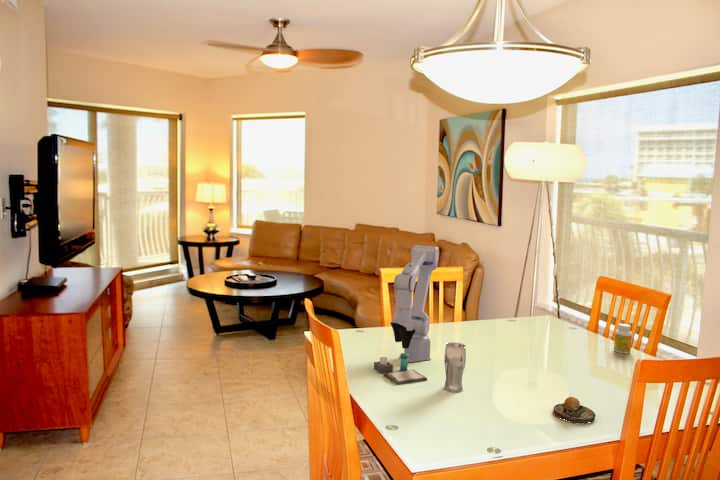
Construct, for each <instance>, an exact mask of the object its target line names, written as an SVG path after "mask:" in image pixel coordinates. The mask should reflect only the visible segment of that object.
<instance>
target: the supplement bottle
mask: <svg viewBox="0 0 720 480" xmlns="http://www.w3.org/2000/svg"><path fill="white" fill-rule="evenodd" d="M630 330H631V324H627V323H618V325H617V329H616V330H615V333H614V346H613V351H614V352H616V353H619V354H630V352H631V350H632V349H631V348H632V340H633V339H632V338H633V333H632V331H630Z"/></svg>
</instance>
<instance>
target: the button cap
mask: <svg viewBox="0 0 720 480" xmlns="http://www.w3.org/2000/svg"><path fill="white" fill-rule="evenodd" d="M388 359H389V358H388V357H387V356H381V357H379V361H380V365H381V366H382V365H387V363H388V362H389V361H388Z"/></svg>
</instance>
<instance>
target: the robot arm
mask: <svg viewBox="0 0 720 480" xmlns="http://www.w3.org/2000/svg"><path fill="white" fill-rule="evenodd" d="M410 252H411V255H410V256H411V261H410V262H408V263H406V265H404V267H403V269H402V271H401V273H399V274H396V275H395V277H394V282H393V288H394V295H395V310H394V311H395V313H394V315H393V319H392V320H391V322H390V325H391V328H392V331H393V336H394V342H395V343H401V348H402V349H404V352H403V353H406V354H408V362H409V363H414V362H422V361H430V360H432V358H431V339H430V337H429V335H428V334H429V331H430V317H429V316H428V314H427V313H426V312H425V306H426V303H427V298H428V297H427V296H428V292H429V286H430V282H431V276H432V273H433V271H436V270H437V268H438V265H439V260H440V259H439V257H440V249H439V247H438V246H430V245H429V246H428V245H420V244H419V245H417V244H413V246H412V248H411V251H410ZM414 290H415V291H414ZM413 292H414V295H413ZM399 357H400V358H401V354H399Z"/></svg>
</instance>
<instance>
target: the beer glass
mask: <svg viewBox="0 0 720 480" xmlns="http://www.w3.org/2000/svg"><path fill="white" fill-rule="evenodd" d="M443 358H444V359H443V360H444V370H445V382H444V386H443V389H444V390H445V391H447V392H450V393H461V392H462V391H464V390H463V389H464V388H463V375H464V371H465V367H466V360H467V345H465V344H464V343H462V342H447V343H445V348H444V357H443Z"/></svg>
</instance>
